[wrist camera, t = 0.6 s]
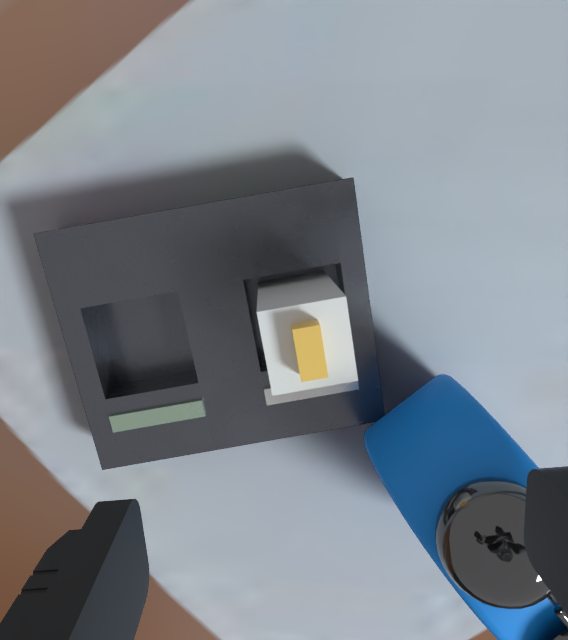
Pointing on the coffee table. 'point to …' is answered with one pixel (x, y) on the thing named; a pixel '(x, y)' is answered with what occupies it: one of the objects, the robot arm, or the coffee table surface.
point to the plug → (305, 333)
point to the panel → (204, 321)
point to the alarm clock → (467, 505)
